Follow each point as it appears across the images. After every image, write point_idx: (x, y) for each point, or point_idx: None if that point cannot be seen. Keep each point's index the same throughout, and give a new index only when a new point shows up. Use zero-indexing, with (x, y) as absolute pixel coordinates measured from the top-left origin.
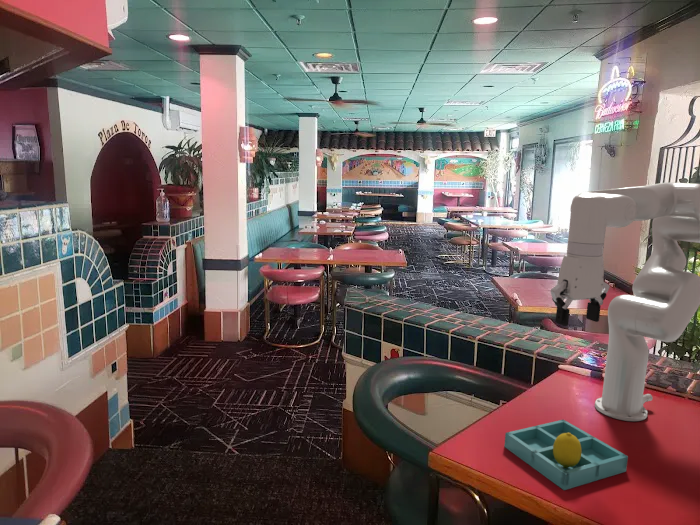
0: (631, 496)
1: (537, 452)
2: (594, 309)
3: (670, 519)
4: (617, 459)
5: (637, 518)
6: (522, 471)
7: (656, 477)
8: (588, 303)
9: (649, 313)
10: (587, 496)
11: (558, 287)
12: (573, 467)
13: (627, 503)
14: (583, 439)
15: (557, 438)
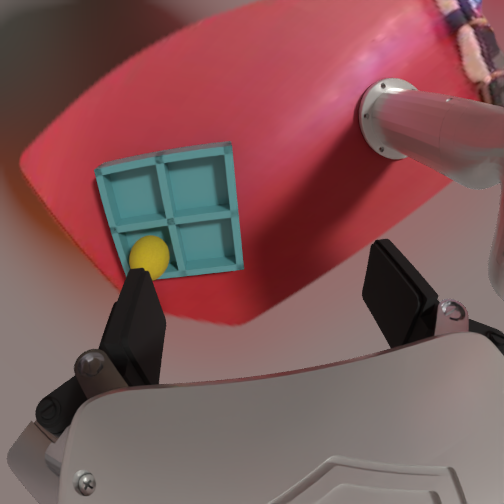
0: (205, 293)
1: (115, 233)
2: (390, 325)
3: (216, 323)
4: (222, 271)
5: (184, 317)
6: (101, 225)
7: (269, 273)
8: (416, 305)
9: None
10: (154, 282)
11: (50, 501)
12: (166, 244)
13: (191, 300)
14: (213, 216)
15: (131, 260)
